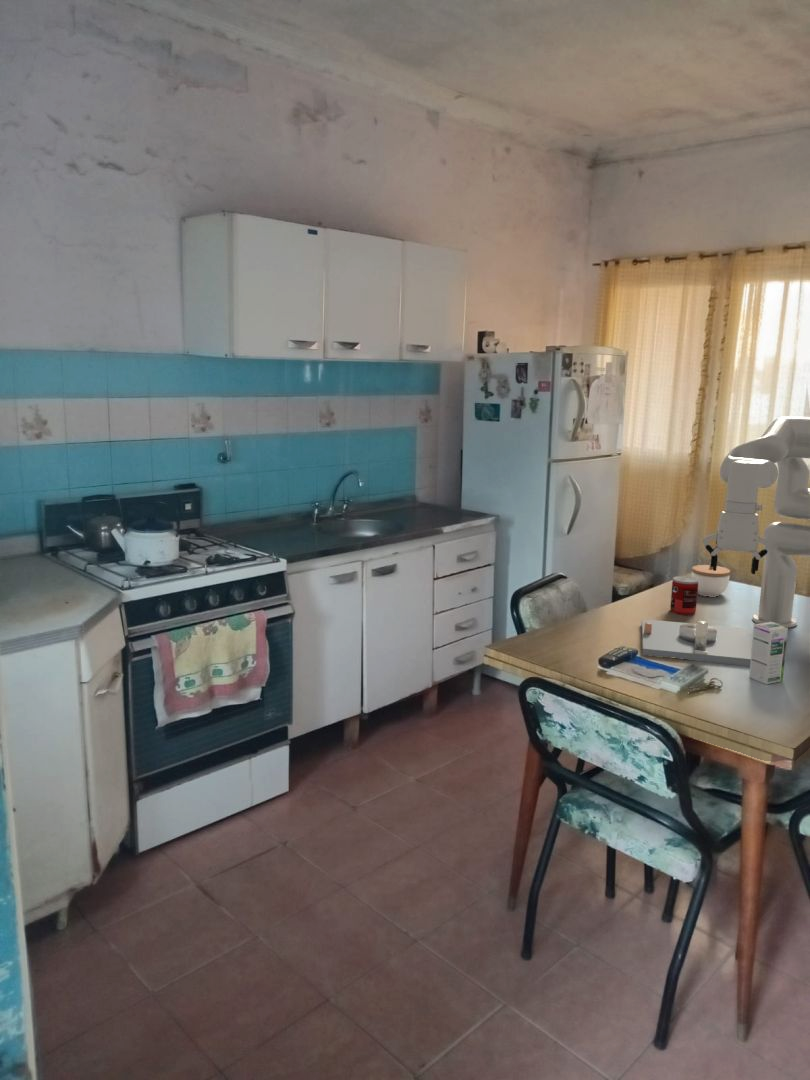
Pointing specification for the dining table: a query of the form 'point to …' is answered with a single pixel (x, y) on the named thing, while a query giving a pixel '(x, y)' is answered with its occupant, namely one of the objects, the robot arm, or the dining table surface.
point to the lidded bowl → (711, 579)
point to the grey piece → (698, 634)
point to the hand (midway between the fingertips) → (733, 571)
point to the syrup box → (768, 652)
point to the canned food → (684, 595)
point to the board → (667, 643)
